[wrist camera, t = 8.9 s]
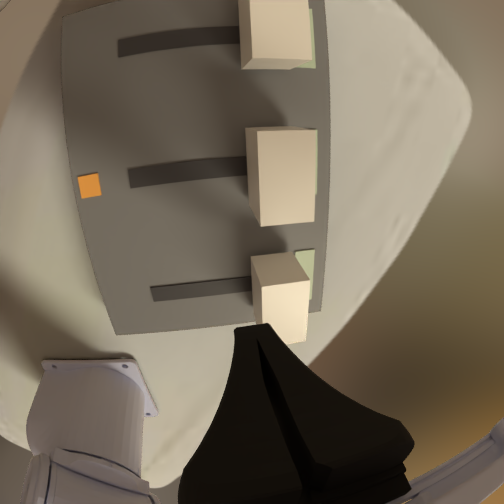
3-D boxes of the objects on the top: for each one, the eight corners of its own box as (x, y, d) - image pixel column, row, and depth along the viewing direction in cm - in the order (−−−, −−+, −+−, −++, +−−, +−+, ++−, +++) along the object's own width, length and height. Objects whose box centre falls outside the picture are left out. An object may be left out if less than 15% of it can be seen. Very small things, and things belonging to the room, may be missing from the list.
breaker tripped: (249, 204, 16) (260, 226, 13) (245, 127, 14) (256, 131, 11) (293, 201, 16) (314, 221, 13) (292, 126, 14) (315, 130, 11)
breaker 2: (253, 313, 19) (263, 348, 16) (250, 256, 17) (261, 286, 14) (290, 308, 19) (305, 340, 16) (292, 251, 17) (310, 280, 15)
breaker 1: (241, 69, 13) (252, 58, 10) (238, -1, 11) (248, -26, 8) (289, 69, 13) (312, 60, 10) (285, 1, 11) (305, -21, 8)
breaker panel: (121, 317, 20) (115, 336, 18) (75, 24, 11) (61, 16, 10) (311, 295, 22) (321, 311, 20) (311, 3, 13) (324, -7, 11)
